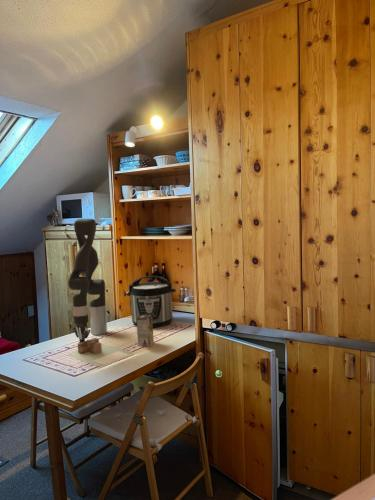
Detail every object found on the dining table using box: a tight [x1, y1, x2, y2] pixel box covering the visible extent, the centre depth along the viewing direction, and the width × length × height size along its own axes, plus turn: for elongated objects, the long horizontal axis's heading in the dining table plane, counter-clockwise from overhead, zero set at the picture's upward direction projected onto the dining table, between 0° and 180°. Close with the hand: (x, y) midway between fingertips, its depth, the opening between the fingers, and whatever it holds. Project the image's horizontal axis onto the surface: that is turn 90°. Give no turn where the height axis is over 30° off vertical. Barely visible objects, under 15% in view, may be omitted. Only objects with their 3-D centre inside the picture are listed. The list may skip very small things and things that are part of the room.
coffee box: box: [136, 315, 155, 349], centre depth 208 cm, size 9×6×16 cm
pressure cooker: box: [125, 275, 176, 328], centre depth 252 cm, size 30×28×32 cm
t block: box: [77, 337, 102, 354], centre depth 198 cm, size 10×11×5 cm
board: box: [66, 343, 134, 369], centre depth 194 cm, size 27×22×1 cm
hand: (82, 345), depth 204 cm, fingers closed
